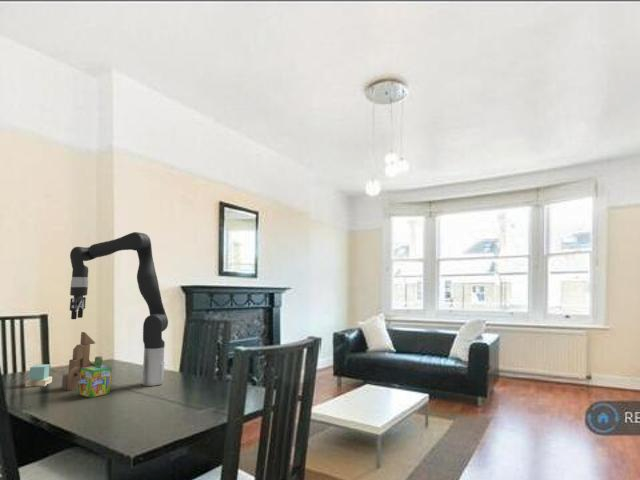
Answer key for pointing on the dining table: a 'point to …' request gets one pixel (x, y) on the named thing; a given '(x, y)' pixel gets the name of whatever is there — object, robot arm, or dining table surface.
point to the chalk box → (95, 380)
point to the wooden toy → (78, 363)
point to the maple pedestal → (38, 382)
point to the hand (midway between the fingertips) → (76, 318)
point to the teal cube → (39, 372)
